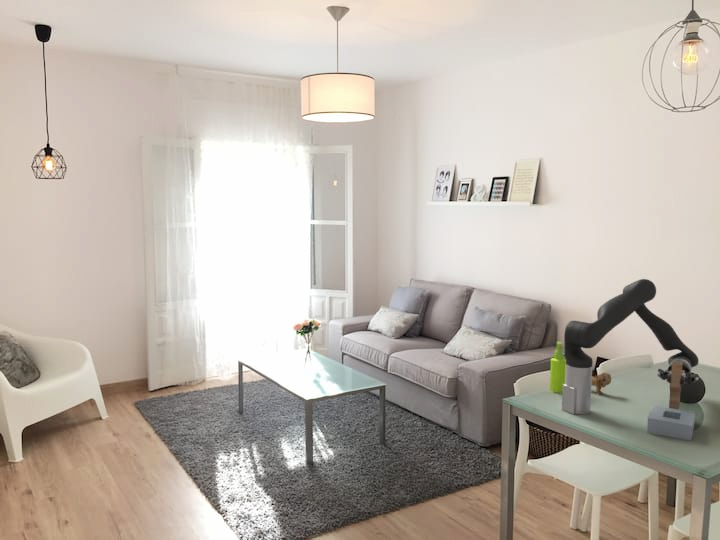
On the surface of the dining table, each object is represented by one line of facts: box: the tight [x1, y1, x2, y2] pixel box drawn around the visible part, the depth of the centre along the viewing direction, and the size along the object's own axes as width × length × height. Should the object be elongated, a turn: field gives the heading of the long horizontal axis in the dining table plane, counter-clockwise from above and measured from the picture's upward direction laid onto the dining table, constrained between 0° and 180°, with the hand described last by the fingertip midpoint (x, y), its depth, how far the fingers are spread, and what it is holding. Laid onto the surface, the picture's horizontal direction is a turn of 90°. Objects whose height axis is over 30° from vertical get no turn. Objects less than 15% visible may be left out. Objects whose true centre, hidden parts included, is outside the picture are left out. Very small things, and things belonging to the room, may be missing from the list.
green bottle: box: [549, 341, 566, 394], centre depth 246 cm, size 6×7×20 cm
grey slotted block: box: [646, 404, 696, 441], centre depth 205 cm, size 15×13×5 cm
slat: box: [668, 361, 683, 410], centre depth 213 cm, size 5×3×16 cm, turn 148°
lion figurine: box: [591, 372, 612, 395], centre depth 245 cm, size 15×5×9 cm, turn 46°
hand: (675, 381), depth 211 cm, fingers closed on slat, 3 cm apart
